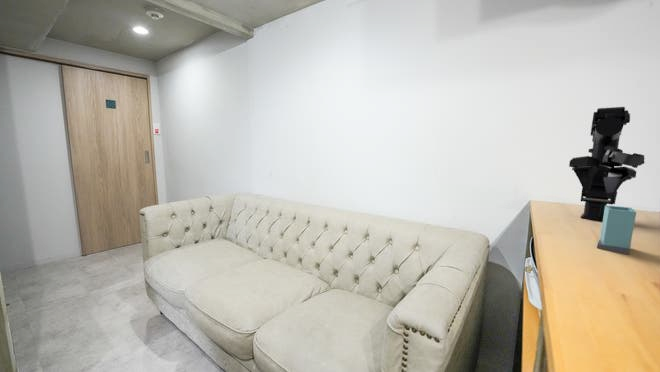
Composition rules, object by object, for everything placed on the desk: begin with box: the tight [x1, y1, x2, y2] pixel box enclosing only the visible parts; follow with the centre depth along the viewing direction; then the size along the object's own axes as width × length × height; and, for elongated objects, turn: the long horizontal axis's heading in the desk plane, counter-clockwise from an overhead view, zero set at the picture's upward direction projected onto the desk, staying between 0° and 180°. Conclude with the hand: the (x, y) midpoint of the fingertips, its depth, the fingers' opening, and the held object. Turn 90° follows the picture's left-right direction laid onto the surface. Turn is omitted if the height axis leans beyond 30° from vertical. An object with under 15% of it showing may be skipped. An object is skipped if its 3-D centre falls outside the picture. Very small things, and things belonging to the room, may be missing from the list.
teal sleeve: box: [599, 204, 637, 250], centre depth 75 cm, size 5×5×10 cm
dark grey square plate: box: [596, 239, 632, 256], centre depth 75 cm, size 6×6×4 cm
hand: (598, 194), depth 86 cm, fingers open, 9 cm apart
